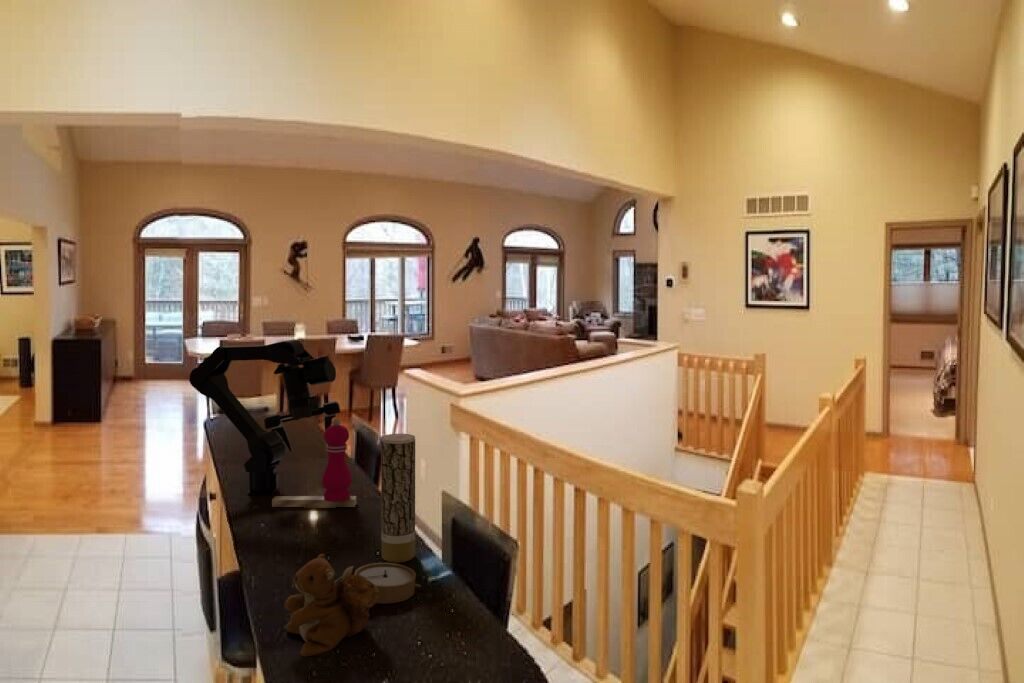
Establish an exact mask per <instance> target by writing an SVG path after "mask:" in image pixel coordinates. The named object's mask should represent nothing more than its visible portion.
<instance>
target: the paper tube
mask: <svg viewBox="0 0 1024 683" xmlns="http://www.w3.org/2000/svg"><path fill="white" fill-rule="evenodd" d="M380 439H381V440H380V461H381V462H380V463H381V464H380V469H381V470H380V474H381V475H380V482H381V483H380V486H381V487H380V489H381V490H380V493H381V497H380V503H381V504H380V506H381V507H380V508H381V509H380V511H381V512H380V513H381V514H380V517H381V519H380V520H381V523H380V524H381V525H380V526H381V529H380V530H381V532H380V533H381V535H380V536H381V537H380V538H381V539H380V540H381V558H382V559H383V560H384V561H386V562H387V563H395V564H400V563H406V562H409V561H411V560H412V559H414V557H415V555H416V436H415V435H413V434H410V433H389V434H385V435H382V436H381V438H380Z"/></svg>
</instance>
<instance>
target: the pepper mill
mask: <svg viewBox="0 0 1024 683" xmlns="http://www.w3.org/2000/svg"><path fill="white" fill-rule="evenodd" d="M323 433H324V434H323V439H324V441H325V443H326V446H325V447H326V449H325V450H326V452H327V455H328V456H327V460H328V461H327V465H326V467H325V469H324V472H323V474H322V477H321V485H322V487H323V488H324V489H325V490H324V492H323V496H324V499H325V500H326V501H330V502H340V501H345V500H347V499H349V498H350V496H351V490H350V489H349V487H350V486H351V485H352V482H353V478H352V473H351V471H350V469H349V466H348V464H347V461H346V451H347V450H348V448H347V446H348V444H347V442H348V440H349V438H350V433H349V429H348V428H347V427H346V426H344V425H342V424H341V420H340V419H339V418H333V419H332V425H330V426H329V427H328V428H327V429H326V430H325V429H324V432H323Z"/></svg>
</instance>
